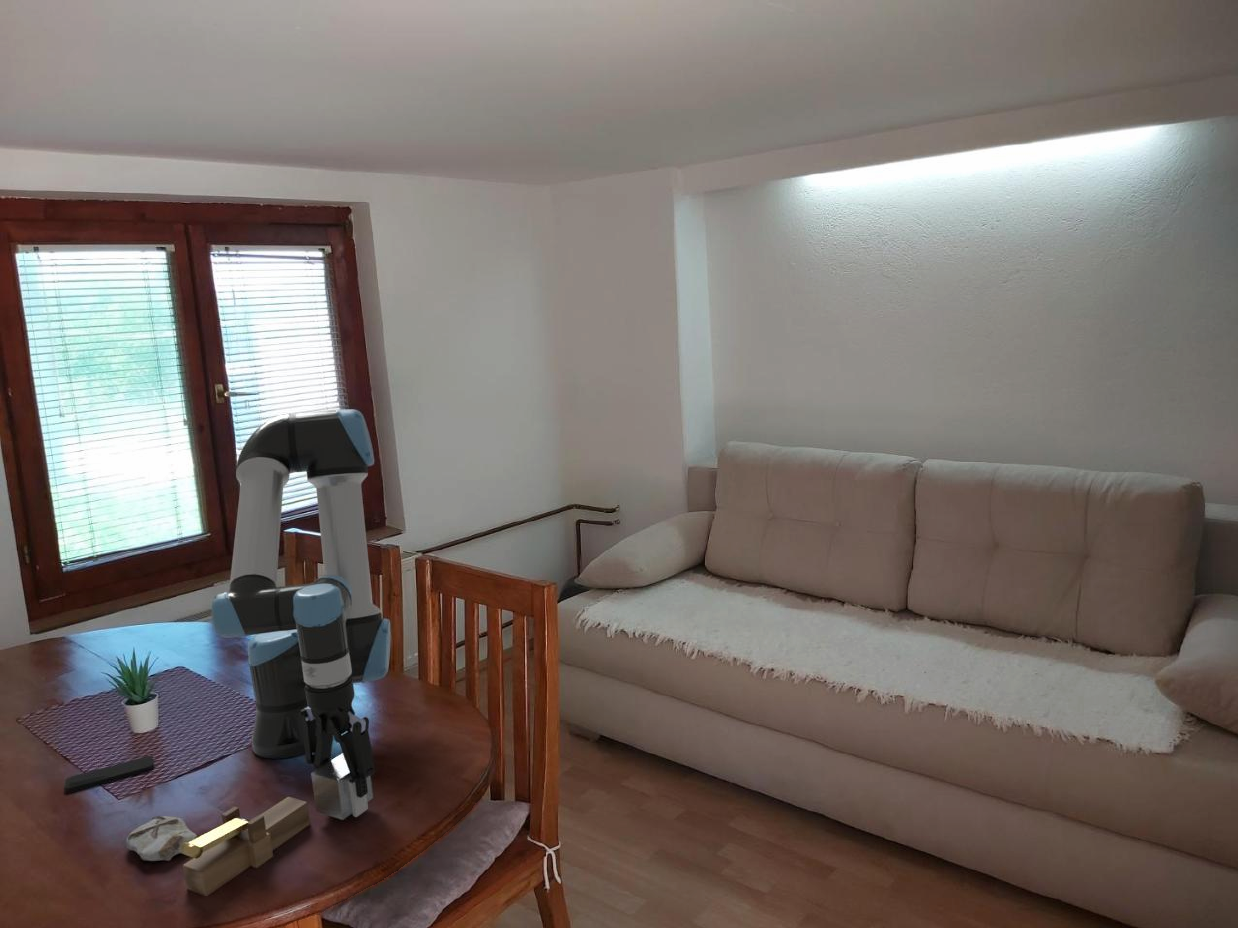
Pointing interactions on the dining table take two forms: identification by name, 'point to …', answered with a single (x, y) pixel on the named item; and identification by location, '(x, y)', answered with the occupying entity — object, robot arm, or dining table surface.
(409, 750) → the dining table surface
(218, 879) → the tan wooden beam joint
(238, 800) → the dining table surface
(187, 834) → the stone
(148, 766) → the remote control
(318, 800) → the brushed steel cube
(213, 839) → the lever
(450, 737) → the dining table surface
